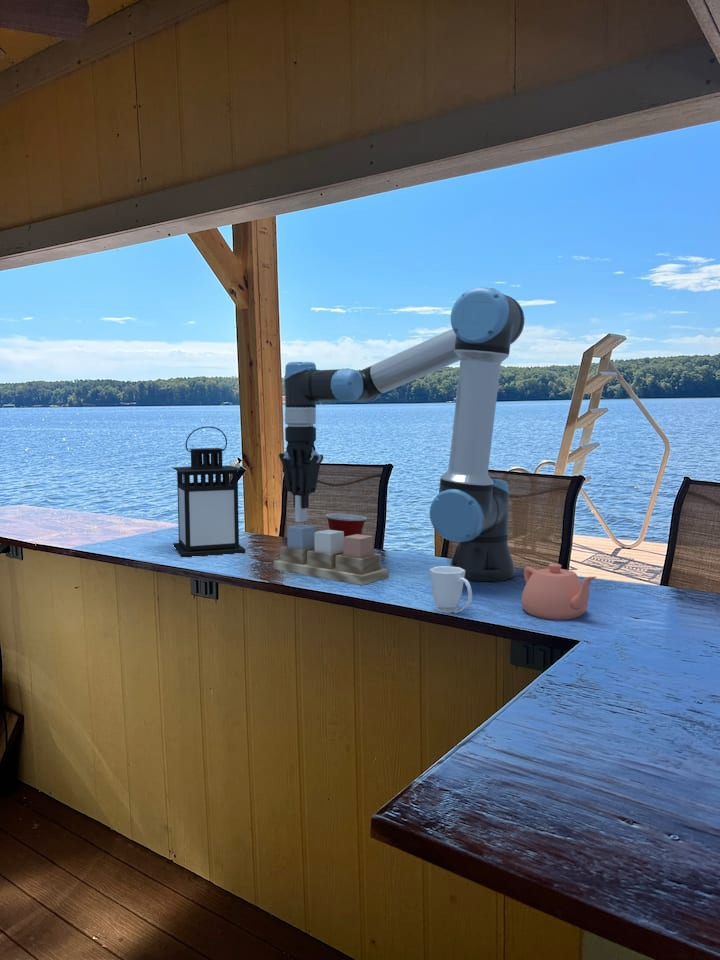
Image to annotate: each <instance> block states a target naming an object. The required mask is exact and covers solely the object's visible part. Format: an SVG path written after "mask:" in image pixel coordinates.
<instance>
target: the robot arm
mask: <svg viewBox="0 0 720 960" xmlns="http://www.w3.org/2000/svg"><path fill="white" fill-rule="evenodd" d="M524 314H525V313H524V310H523V308H522V306H521V305H520V304H519V303H518V301H517V300H516V299H514V298H513V297H511V296H509V295H506V294H504V293H502V292H501V291H500V290H498V289H496V288H491V287H485V286H478V287H472V288H470V289H468V290H466V291H465V292H463V293H462V294H461V295H460V296H458V298H457V299H456V301H455V302H454V304H453V306H452V309H451V312H450V324H451V325H450V326H451V329H449V330H447V331H444V332H442V333H440V334H438V335H435V336H433V337H431V338H429V339H427V340H425V341H422V342H420V343H418V344H416V345H414V346H412V347H409V348H407V349H405V350H402V351H401V352H398V353H396V354H394V355H392V356H389V357H388V358H384V359H382V360H380V361H378V362H377V363H374V364H372V365H370V366H367V367H366V368H363V369H361V370H359V371H358V369H353V368H352V369H351V368H340V369H339V368H337V369H335V368H334V369H317V366H316V365H317V364H316V363H315V362H313V361H289V362H287V363H286V365H285V369H284V371H285V372H284V373H285V374H284V380H283V382H284V394H285V407H284V408H285V409H284V411H285V412H284V418H285V419H284V424H285V425H287V426H286V427H285V429H284V432H285V435H284V436H285V437H284V439H285V442H287V444H286V448H285V450H284V452H280V453H279V454H278V457H279V460H280V462H281V463H282V470H283V476H284V481H285V487H286V491H287V492H289V493H291V494H292V496H293V498H292V499H293V501H292V502H293V504H292V505H293V508H294V522H297V523H302V522H308V509H309V505H310V504H309V503H310V499H309V496H310V494H314V493H315V492H316V488H317V484H318V478H319V474H320V473H319V472H320V467H321V463H322V462H323V459H324V455H323V454H319V453H318V452H317V451H316V446H315V442H316V441H317V428H316V426H314V425H316V423H317V418H316V417H317V409H316V408H317V402H355V403H356V402H357V403H364V404H365V403H369V402H374V401H376V400H378V398H379V397H380V396H381V395H383V394H384V393H387V392H389V391H392V390H394V389H397V388H399V387H401V386H404V385H406V384H408V383H410V382H412V381H413V382H414V381H416V380H417V379H418V380H419V378H422V377H425V376H428V375H429V374H431V373H433V372H436V371H438V370H441V369H443V368H446V367H448V366H450V365H453V364H455V363H457V362H460V363H459V371H458V379H457V380H458V381H457V388H456V398H455V408H454V416H453V417H454V418H453V423H452V433H451V441H450V442H451V443H450V445H451V446H450V453H449V460H448V461H449V463H448V469H447V470H446V472H444V473H443V474H442V475H440V479H439V488H438V494H437V495H435V497H434V498H433V500H432V502H431V504H430V507H429V519H430V522H431V525H432V528H434V530H435V531H436V532H437V534H438V535H439V536H441V538H442V539H445V540H447V541H449V542H453V543H456V547H455V549H454V552H453V556H452V559H451V562H450V565H449V566H452V567H460V568H462V569H464V570H465V576H464V578H465V579H466V580H468V581H475V582H498V581H506V580H510V579H512V578H515V570H516V569H515V564H514V561H513V557H512V553H511V551H510V548H509V543H508V535H509V534H508V533H509V532H508V531H509V529H508V528H509V526H508V525H509V496H510V492H509V485H508V482H507V481H505V480H504V479H497V478H496V479H495V478H491V477H490V475H489V465H490V459H491V458H490V457H491V448H492V440H493V433H494V432H493V431H494V425H495V423H494V422H495V415H496V407H497V400H498V399H497V398H498V389H499V384H500V383H499V382H500V374H501V365H502V364H503V362H504V361H505V360H506V359H508V358H509V356H510V352H511V350H510V349H511V345H512V344H513V343H515V342H516V341H517V340H518V339H519V337H520V336H521V334H522V332H523V331H524V326H525V315H524Z"/></svg>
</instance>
